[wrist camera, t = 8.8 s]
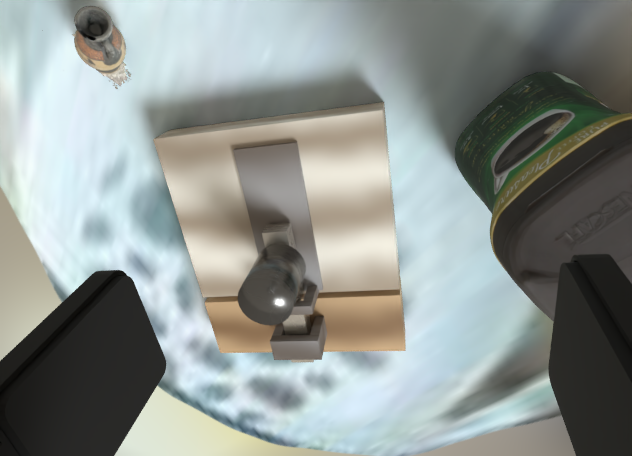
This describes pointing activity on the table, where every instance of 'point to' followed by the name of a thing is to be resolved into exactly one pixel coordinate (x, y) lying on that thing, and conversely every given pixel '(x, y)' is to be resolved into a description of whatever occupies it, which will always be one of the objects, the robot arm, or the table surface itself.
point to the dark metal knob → (276, 283)
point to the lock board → (293, 224)
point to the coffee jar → (551, 180)
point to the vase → (100, 43)
